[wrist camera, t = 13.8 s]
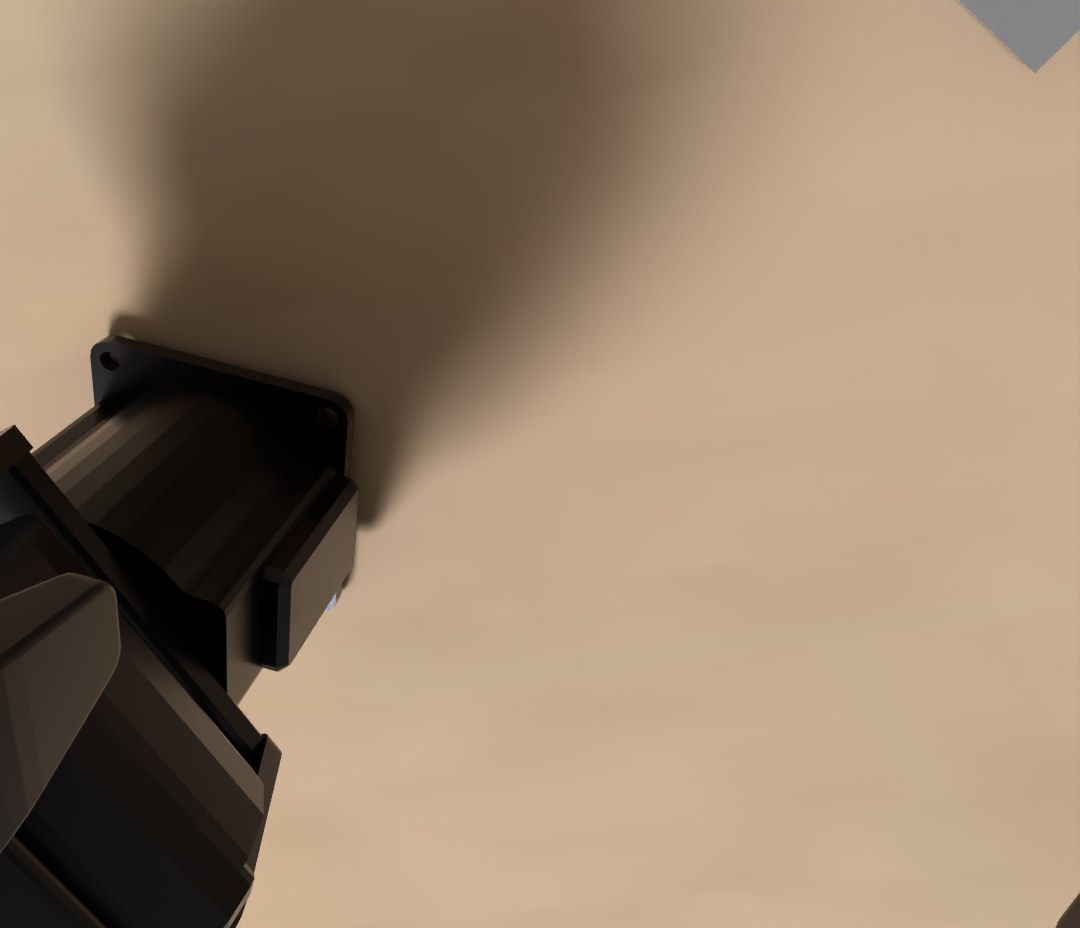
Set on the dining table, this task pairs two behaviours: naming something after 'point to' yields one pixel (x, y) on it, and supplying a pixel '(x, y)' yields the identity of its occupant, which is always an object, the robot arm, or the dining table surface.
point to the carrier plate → (1028, 25)
